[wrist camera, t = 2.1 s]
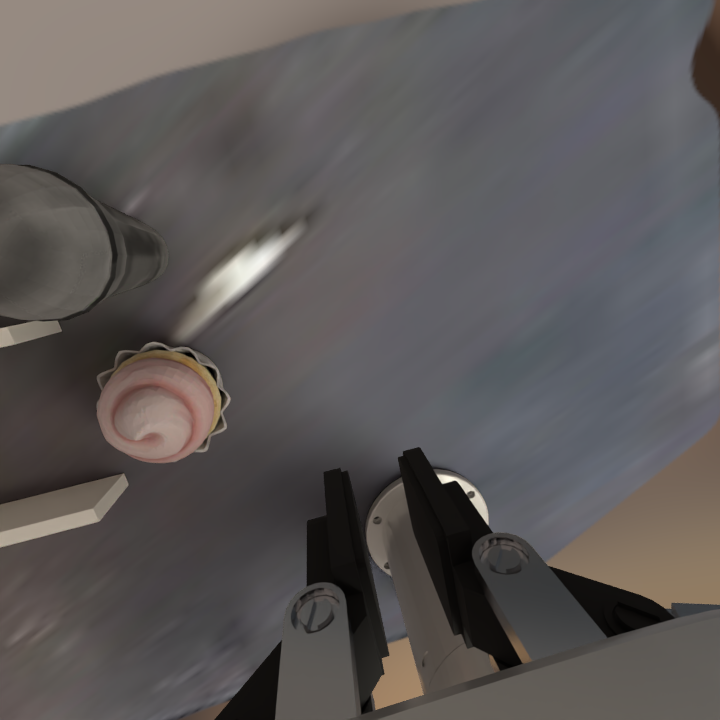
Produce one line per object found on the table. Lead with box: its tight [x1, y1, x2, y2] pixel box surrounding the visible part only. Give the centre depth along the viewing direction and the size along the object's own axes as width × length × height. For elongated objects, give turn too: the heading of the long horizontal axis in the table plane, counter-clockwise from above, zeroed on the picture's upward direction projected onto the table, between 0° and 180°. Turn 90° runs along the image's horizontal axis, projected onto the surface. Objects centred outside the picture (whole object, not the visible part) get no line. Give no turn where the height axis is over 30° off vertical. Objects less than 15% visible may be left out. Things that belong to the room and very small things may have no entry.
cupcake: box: [96, 342, 231, 463], centre depth 27 cm, size 9×9×10 cm
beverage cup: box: [0, 164, 169, 322], centre depth 20 cm, size 7×7×20 cm
